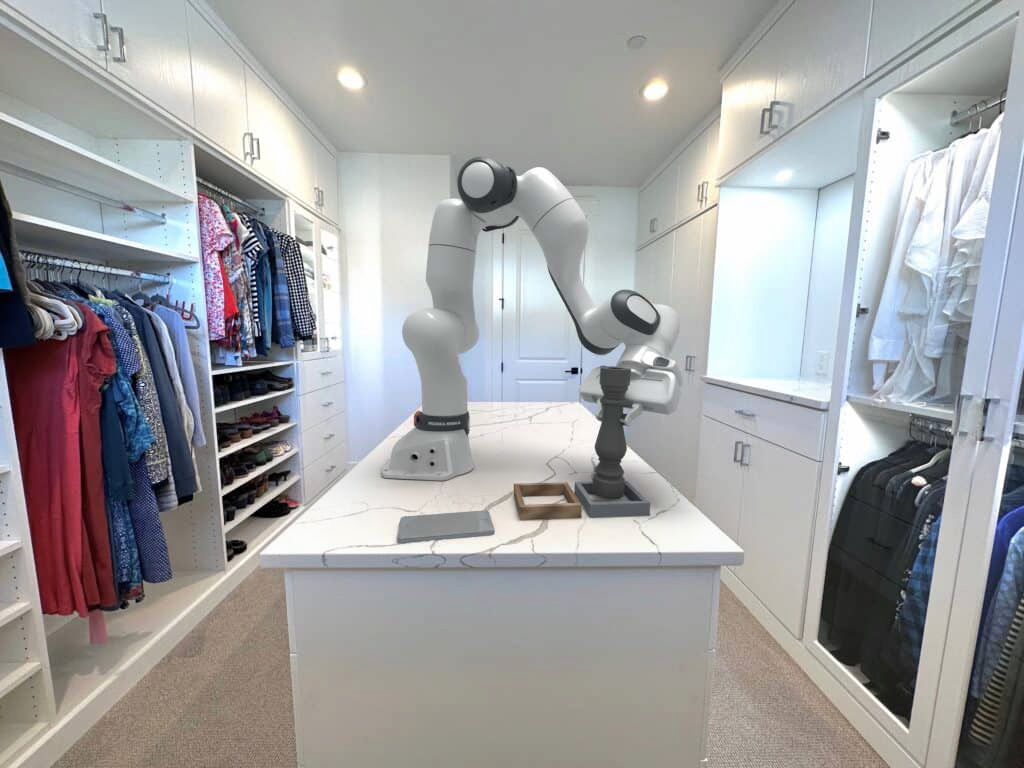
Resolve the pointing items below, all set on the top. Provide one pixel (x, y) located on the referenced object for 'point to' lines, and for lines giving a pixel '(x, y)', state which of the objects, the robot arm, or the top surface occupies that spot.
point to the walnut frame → (546, 510)
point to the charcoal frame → (612, 509)
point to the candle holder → (611, 434)
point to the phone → (445, 526)
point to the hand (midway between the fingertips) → (611, 421)
